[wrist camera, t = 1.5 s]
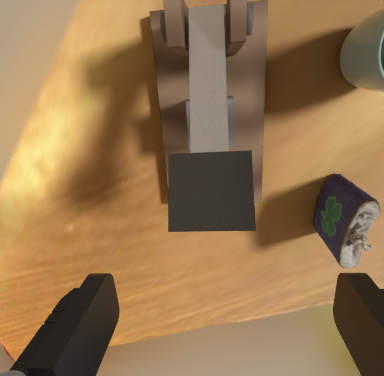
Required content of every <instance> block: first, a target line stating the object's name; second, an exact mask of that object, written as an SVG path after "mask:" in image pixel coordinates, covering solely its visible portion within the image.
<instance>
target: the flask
mask: <svg viewBox="0 0 384 376" xmlns="http://www.w3.org/2000/svg"><path fill="white" fill-rule="evenodd" d="M316 202H317V203H316V208H315V213H314V219H313V223H314V228H315V230H316V231H317V233H318V234H319V236H320V237H321V238H322V239H323V241H324V242H325V244H326V245H327V247H328V248H329V250H330V251H331V252H332V254H333V256H334V257H335V258H336V260H337V262H338V263H339V265H340V266H342V267H344V268H352V267H354V266H357V264H358V262H359V260H360V255H361V249H362V248H364V249H365V251H368V250H369V249H370V248H371V247H373V245H370V246H368V245H366V244H367V243H368V242H367V241H366V240H367V233H368V231H369V229H370V227H371V225H372V223H373V222H374V220H375V219H376V218H377V217H378V215H379V213H380V207H379V203H378V202H377V200H376V199H374V198H373V197H371V196H370V195H369V194H367V193H366V192H364V191H363V190H361V189H360V188H358V187H357V186H355V185H354V184H353V183H352V182H350V181H349V180H347V179H346V178H344V177H343V176H342V175H341V174H335V173H334V174H331V175H330V176H328V177H327V179H326V180H325V181H324V183H323V186H322V188H321V189H320V193H319V195H318V199H317V201H316Z"/></svg>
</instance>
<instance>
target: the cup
mask: <svg viewBox="0 0 384 376" xmlns="http://www.w3.org/2000/svg"><path fill="white" fill-rule="evenodd" d="M340 68H341V72H342V74H343V76H344V78H345V79H346V80H347V81H348V82H349V83H350V84H352V85H354V86H355V87H358V88H361V89H365V90H369V91H376V92H384V8H383V9H381V10H379V11H377V12H375V13H373V14H372V15H370V16H368V17H367V18H365V19H364V20H363V21H361V22H360V23H359V24H357V25H356V26H355V27H354V28H353V29H352V30H351V31H350V32H349V34H348V35H347V37H346V38H345V40H344V43H343V45H342V48H341V52H340Z"/></svg>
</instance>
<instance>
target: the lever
mask: <svg viewBox="0 0 384 376" xmlns="http://www.w3.org/2000/svg"><path fill="white" fill-rule="evenodd" d="M189 78H190V149H191V153H176V154H168V232H186V231H256V227H255V206H254V186H253V165H252V150H247V151H229V141H228V113H227V85H226V57H225V29H224V4H220V5H210V6H200V7H190V8H189Z"/></svg>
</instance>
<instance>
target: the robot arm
mask: <svg viewBox="0 0 384 376" xmlns="http://www.w3.org/2000/svg"><path fill="white" fill-rule="evenodd" d="M333 315H334V320H335V324H336V326H337V329H338V331H339V333H340V335H341V336H342V339H343V340H344V342H345V344H346V346H347V348H348V350H349V352H350V354H351V356H352V358H353V360H354V362H355V364H356V366H357V368H358V370H359V372H360V374H361V376H384V289H379V288H378V287H377V285H376V284H375V283H374V282H373V280H372V279H371V278H370V277H369V276H368V275H367V274H366V273H340V274H339V275H338V279H337V285H336V292H335V299H334V306H333ZM118 318H119V303H118V298H117V293H116V289H115V284H114V279H113V276H112V274H110V273H107V274H89V275H88V276H87V277H86V279H85V280H84V282H83V283H82V285H81V286H80V288H74V289H73V290H71V291H70V292H69V293H68V294H67V295H65V296H64V297H63V298H62V299H61V300H60V301H59V303H58V304H57V305H56V307H55V308H54V309H53V311H52V314H50V315H49V316H48V318H47V319H46V321H45V323H44V325H42V326H41V327H40V329H39V330H38V332H37V333H36V334H35V336H34V337H33V338H32V340H31V341H30V343H29V344H28V345H27V347H26V348H25V350H24V351H23V352H22V354H21V355H20V356H19V358H18V359H17V361H16V362H15V363H14V365H13V366H12V368H11V369H10V370H9V371H6V372H3V373H0V376H96V374H97V371H98V369H99V367H100V364H101V362H102V359H103V357H104V354H105V352H106V350H107V347H108V345H109V342H110V340H111V337H112V335H113V332H114V330H115V328H116V325H117V322H118Z"/></svg>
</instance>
